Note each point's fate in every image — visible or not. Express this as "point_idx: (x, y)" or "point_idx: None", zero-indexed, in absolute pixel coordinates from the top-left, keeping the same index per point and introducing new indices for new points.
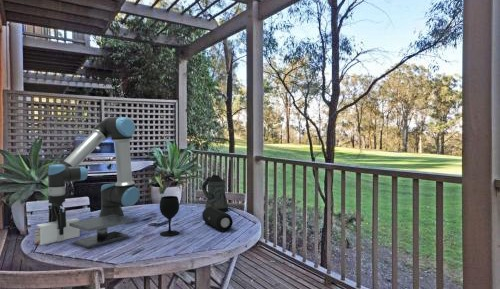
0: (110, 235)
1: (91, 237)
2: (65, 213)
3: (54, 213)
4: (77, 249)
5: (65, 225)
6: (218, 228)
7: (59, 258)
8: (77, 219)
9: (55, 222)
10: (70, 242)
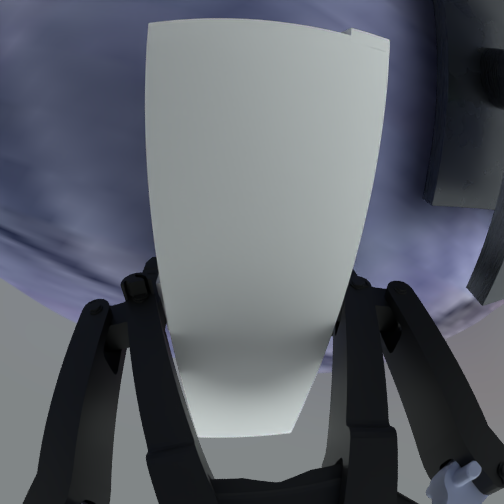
0: (489, 20)
1: (454, 90)
2: (481, 413)
3: (210, 475)
4: (481, 239)
5: (413, 299)
6: None
7: (472, 314)
8: (370, 62)
9: (250, 364)
10: (379, 198)
